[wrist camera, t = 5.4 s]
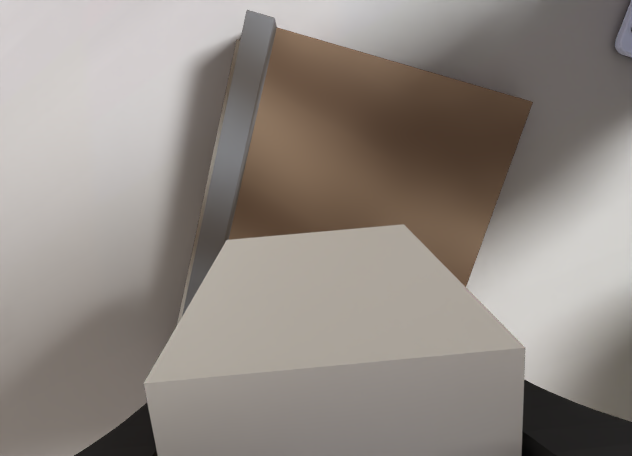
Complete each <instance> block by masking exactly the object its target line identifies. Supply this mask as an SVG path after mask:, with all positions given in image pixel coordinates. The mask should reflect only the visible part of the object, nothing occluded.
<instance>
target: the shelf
mask: <svg viewBox="0 0 632 456" xmlns="http://www.w3.org/2000/svg"><path fill="white" fill-rule="evenodd" d="M532 103H533V102H531V101H528V100H525V99H521V98H518V97H514V96H511V95H507V94H504V93H501V92H497V91H494V90H490V89H487V88H483V87H480V86H476V85H473V84H470V83H466V82H463V81H459V80H456V79H452V78H449V77H445V76H442V75H439V74H435V73H432V72H428V71H425V70H421V69H418V68H414V67H411V66H408V65H404V64H401V63H397V62H394V61H390V60H387V59H384V58H380V57H377V56H373V55H370V54H366V53H363V52H359V51H356V50H353V49H349V48H346V47H342V46H339V45H335V44H332V43H328V42H325V41H322V40H318V39H315V38H311V37H308V36H304V35H301V34H297V33H294V32H291V31H287V30H284V29H280V28H277V26H276V22H275V18H273V17H270V16H267V15H263V14H260V13H256V12H253V11H249V10H247V11H246V16H245V21H244V25H243V30H242V35H241V40H236V45H235V49H234V54H233V59H232V64H231V69H230V73H229V78H228V83H227V88H226V92H225V97H224V102H223V107H222V112H221V116H220V121H219V126H218V131H217V135H216V140H215V145H214V150H213V155H212V159H211V164H210V169H209V174H208V178H207V183H206V188H205V193H204V198H203V202H202V207H201V212H200V217H199V221H198V226H197V231H196V236H195V241H194V245H193V250H192V255H191V260H190V264H189V269H188V274H187V279H186V284H185V288H184V293H183V298H182V303H181V307H180V312H179V317H178V322H177V325H178V323H179V321H180V320H181V318H182V316H183V315H184V313H185V311H186V309H187V308H188V306H189V304H190V302H191V301H192V299H193V297H194V296H195V294H196V292H197V290H198V289H199V287H200V285H201V283H202V282H203V280H204V278H205V277H206V275H207V273H208V271H209V270H210V268H211V266H212V265H213V263H214V261H215V259H216V258H217V256H218V254H219V252H220V251H221V249H222V247H223V246H224V244H225V242H226V240H232V239H243V238H255V237H266V236H277V235H289V234H300V233H311V232H322V231H334V230H345V229H356V228H368V227H379V226H390V225H402V224H404V225H405V226H406V227H407V228H408V229H409V230H410V231H411V232H412V233H413V234H414V235H415V236H416V237H417V238H418V239H419V240H420V241H421V242H422V243H423V244H424V245H425V246H426V247H427V248H428V249H429V250H430V251H431V252H432V253H433V254H434V256H435V257H436V258H437V259H438V260H439V261H440V262H441V263H442V264H443V265H444V266H445V267H446V268H447V269H448V270H449V271H450V272H451V273H452V274H453V275H454V276H455V277H456V278H457V279H458V280H459V281H460V282H461V283H462V284H463V285H464V286H465V287H466V285H467V282H468V280H469V277H470V274H471V271H472V269H473V266H474V263H475V260H476V258H477V255H478V252H479V249H480V246H481V244H482V241H483V238H484V235H485V233H486V230H487V227H488V224H489V222H490V219H491V216H492V213H493V211H494V208H495V205H496V202H497V200H498V197H499V194H500V191H501V189H502V186H503V183H504V180H505V178H506V175H507V172H508V169H509V167H510V164H511V161H512V158H513V156H514V153H515V150H516V147H517V145H518V142H519V139H520V136H521V133H522V131H523V128H524V125H525V122H526V120H527V117H528V114H529V111H530V109H531V106H532Z"/></svg>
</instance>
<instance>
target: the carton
mask: <svg viewBox="0 0 632 456" xmlns="http://www.w3.org/2000/svg"><path fill="white" fill-rule="evenodd" d="M524 370H525V347H524V346H523V345H522V344H521V343H520V342H519V341H518V340H517V339H516V338H515V337H514V336H513V335H512V334H511V333H510V332H509V331H508V330H507V329H506V328H505V327H504V326H503V325H502V324H501V322H500V321H499V320H498V319H497V318H496V317H495V316H494V315H493V314H492V313H491V312H490V311H489V310H488V309H487V308H486V307H485V306H484V305H483V304H482V303H481V302H480V301H479V300H478V299H477V298H476V297H475V296H474V295H473V294H472V293H471V292H470V291H469V290H468V289H467V288H466V287H465V286H464V285H463V284H462V283H461V282H460V281H459V280H458V279H457V278H456V277H455V276H454V275H453V274H452V273H451V272H450V271H449V270H448V269H447V268H446V267H445V266H444V265H443V264H442V263H441V262H440V261H439V260H438V259H437V258H436V257H435V256H434V254H433V253H432V252H431V251H430V250H429V249H428V248H427V247H426V246H425V245H424V244H423V243H422V242H421V241H420V240H419V239H418V238H417V237H416V236H415V235H414V234H413V233H412V232H411V231H410V230H409V229H408V228H407V227H406V226H405V225H404V224H402V225H390V226H379V227H368V228H356V229H345V230H334V231H322V232H311V233H300V234H289V235H277V236H266V237H255V238H243V239H232V240H226V242H225V244H224V246H223V247H222V249H221V251H220V252H219V254H218V256H217V258H216V259H215V261H214V263H213V265H212V266H211V268H210V270H209V271H208V273H207V275H206V277H205V278H204V280H203V282H202V283H201V285H200V287H199V289H198V290H197V292H196V294H195V296H194V297H193V299H192V301H191V302H190V304H189V306H188V308H187V309H186V311H185V313H184V315H183V316H182V318H181V320H180V321H179V323H178V325H177V327H176V328H175V330H174V332H173V333H172V335H171V337H170V339H169V340H168V342H167V344H166V346H165V347H164V349H163V351H162V352H161V354H160V356H159V358H158V359H157V361H156V363H155V365H154V366H153V368H152V370H151V371H150V373H149V375H148V377H147V378H146V380H145V382H144V388H145V394H146V399H147V404H148V409H149V414H150V419H151V424H152V429H153V434H154V439H155V444H156V450H157V455H158V456H522V427H523V399H524Z"/></svg>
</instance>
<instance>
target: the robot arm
mask: <svg viewBox="0 0 632 456" xmlns="http://www.w3.org/2000/svg"><path fill="white" fill-rule="evenodd" d="M631 27H632V0H631V2H630V5H629V7H628V10H627V12H626V15H625V17H624V20H623V23H622V25H621V28H620V30H619V33H618V35H617V38H616V41H615V48H616V50H617V52H618V53H620V54H622V55H625V56H628V57H631V58H632V32H631ZM74 456H158V455H157V450H156V444H155V439H154V434H153V429H152V424H151V419H150V414H149V409H148V404H147V403H146V404H145V405H144V406H143V407H141V408H140V409H139V410H138V411H136V412H135V413H134V414H133V415H132V416H130V417H129V418H128V419H127V420H125V421H124V422H123V423H122V424H120V425H119V426H118V427H116V428H115V429H113V430H112V431H111V432H109V433H108V434H107V435H105V436H104V437H102V438H101V439H99V440H98V441H96V442H95V443H93V444H92V445H90V446H89V447H87V448H86V449H84V450H83V451H81V452H79V453H78V454H76V455H74ZM522 456H632V422H630V421H626V420H623V419H620V418H617V417H614V416H611V415H608V414H605V413H602V412H599V411H596V410H593V409H591V408H588V407H585V406H583V405H580V404H577V403H575V402H572V401H570V400H568V399H565V398H563V397H561V396H558V395H556V394H553V393H551V392H549V391H547V390H544V389H542V388H540V387H538V386H536V385H534V384H532V383H530V382H528V381H526V380H524V399H523V427H522Z"/></svg>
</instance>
